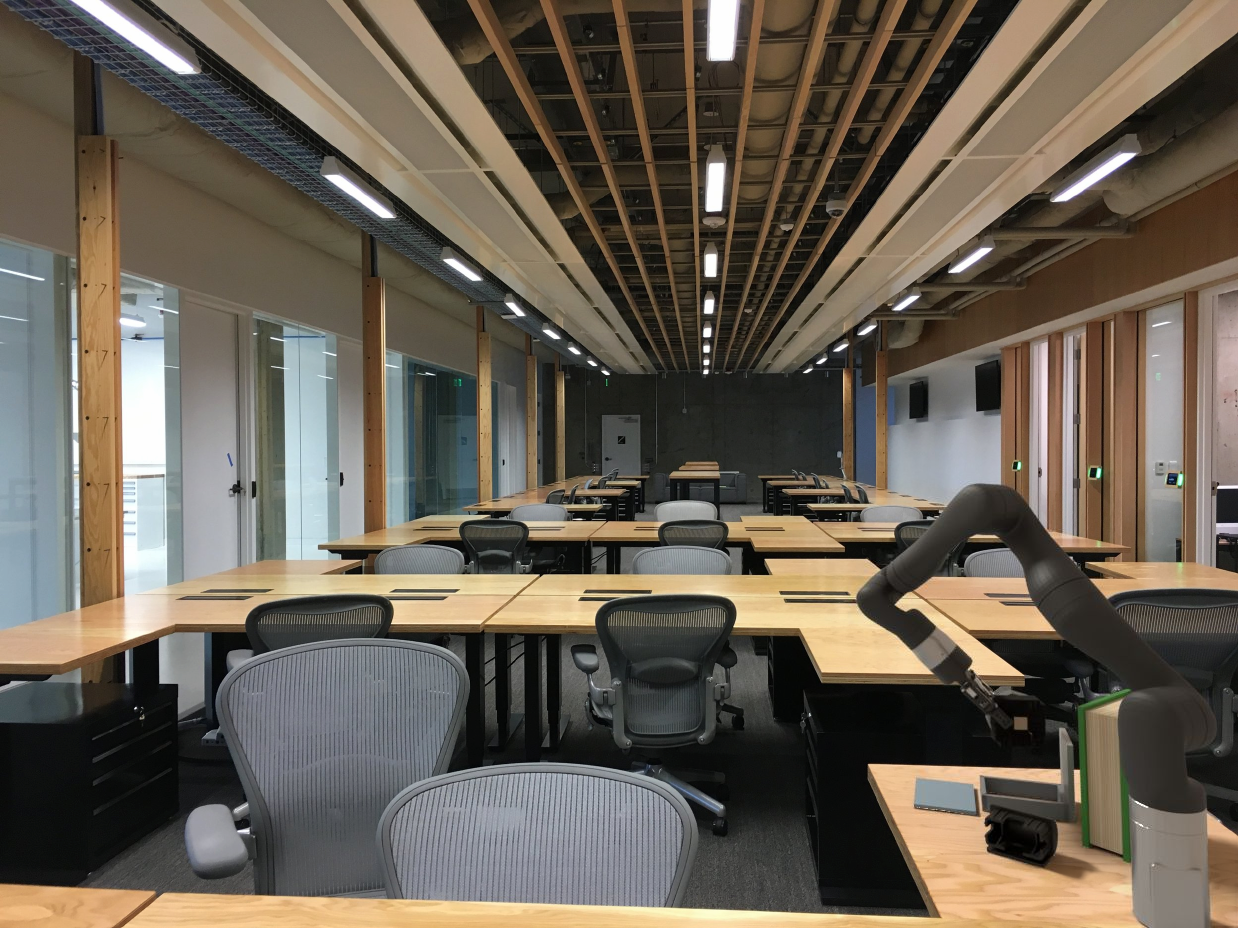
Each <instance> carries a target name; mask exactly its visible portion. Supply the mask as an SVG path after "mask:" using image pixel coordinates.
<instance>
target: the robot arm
mask: <svg viewBox="0 0 1238 928" xmlns="http://www.w3.org/2000/svg"><path fill="white" fill-rule="evenodd" d="M926 529H927V530H925V531H924V532H923V534H922V535H920V537H919V538H918V539H917V540H916V541H915V542H913V543H912V544H911V545H910V546H909V547H908V548H906V550H904V551H903V552H902V553H901V554H899V555H898V556H896V558H895V559H893V560H892V561H891V562H890V563H889V564H888V565H886V566H885V567H883V568H881V569H880V570H878V571H877V572H876V573H875V574H873V575H872V576H871V578H869V579H868V581H866V582H865V584H864V585H863V586H861V588H859V590H858V591H857V593H856V596H855V600H856V604H857V605H856V606H857V607H858V608H859V611H860V612H861V613H862V614H863V615H864V616H865V617H866V618H867V619H868V620H870V621H871V622H873V623H874V624H876V625H878V627H879V626H880V627H881V628H882V629H885V630H886V631H887V632H890V633H891V634H893V635H895V636H896V637H897V638H898V639H899V640H900V641H901V642H902V643H903V644H904V645H905V646H906V647H907V648H908V649H909V650H910V651H911V652H912V653H913V654H914V656H915V657H916V658H917V659H918V660H919V661H920V663H921V664H922V665H923V666H924V667H926V668H927V669H928V670H929V671H930V672H931V674H932V675H934V676H935V677H936V678H937V679H938V681H940V683H942V684H943V685H944V686H950V685H952V684H953V683H954V682H957V684H958V685H959V687H960V691H961V692H962V693H963V696H965V697H966V698H967V699H968V700H969V701H970V702H972V704H974V705H975V707H977V708H978V709H979V710H981V712H982V713H983V714H984V715H985V716H986V715H991V716H992V717H993V718H994V719H995V720H996V721H997V722H998V723H999V724H1000V725H1001V726H1002V727H1003V728H1004V729H1007V728H1008V727H1010V726H1011V725H1012V724H1013V720H1012V719H1011V718H1010V717H1009V716H1008V715H1007V714H1006V713H1005V712H1004V711H1003V710H1002V709H1001V708H999V706H998V704H997V703H995V702H994V701H993V700H992V699H991V694H993V695H997V694H996V693H995V692H994V690H993V688H992V687H990V686H989V685H988V684H987V683H986V682H985V681H984V680H983V679H982V678H981V676H979V675H978V673H976V672H975V670H973V669H972V668H971V666H972V665H973V658H972V657H971V656H969V655H968V653H967V652H966V651H965V650H963V648H962V647H961V646H959V645H958V644H957V643H956V641H954V640H953V638H951V637H950V636H949V635H948V634H947V633H945V632H944V631H943V630H941V629H940V628H939V627H938V626H937V625H936V624H935V623H933V622H932V621H931V620H930V618H928V617H927V616H926V615H925V614H924V613H923V612H922V611H920V610H919V609H917V608H910V609H907V610H906V611H905V610H904V609H902V608H900V607H898V606H897V605H896V604H897V603H898V602H899V601H900V600H901V599H902V598H903V597H904V596H906V594H908V593H911V592H914V591H916V590H917V589H919V588H920V587H921V586H923V585H925V583H927V582H928V581H929V580H931V579H932V578H933V577H934V576H935V575H937V574H938V572H939V571H941V569H942V567H943V566H944V564H945V563H946V560H947V557H948V555H949V554H950V552H951V551H952V550H953V549H954V548H955V547H957V546H958V545H960V544H961V543H962V542H964V541H966V540H968V539H971V538H972V537H974V536H995V537H996V538H998V539H999V540H1000V541H1001V542H1002V543H1004V545H1005V546H1007V548H1008V549H1009V551H1011V553H1012V554H1013V555H1014V556H1015V557H1016V559H1017V560H1018V562H1019V563H1020V565H1021V567H1022V571H1023V574H1024V579H1025V580H1024V581H1025V583H1026V587H1027V591H1028V594H1029V597H1030V599H1031V602H1032V603H1033V605H1035V606H1034V607H1036V609H1037V610H1038V611H1039V613H1041V615H1042V616H1043V617H1044V619H1045V621H1047V623H1048V624H1049V625H1050V626H1051V628H1052V629H1053V630H1054V631H1055V632H1056V633H1057V634H1058V635H1059V636H1060V637H1061V638H1063V639H1064V640H1065V641H1066V642H1067V643H1069V644H1070V645H1071V646H1073V647H1075V648H1076V649H1078V650H1079V651H1080V652H1082V653H1084V654H1085V655H1086V656H1088V657H1090V658H1092V659H1094V660H1095V661H1097V662H1098V663H1100V664H1101V665H1102V666H1104V667H1105V668H1107V669H1108V670H1109V671H1111V672H1112V673H1113V674H1114V675H1116V677H1118V678H1119V680H1121V682H1123V683H1124V685H1125V686H1126V687H1127V689H1130V690H1131V692H1132V693H1130V694H1128V695H1127V696H1125V697H1124V699H1123V700H1122V702H1121V704H1120V707H1119V711H1118V736H1119V747H1120V758H1121V767H1122V771H1123V774H1124V777H1125V779H1126V781H1127V783H1128V787H1129V813H1130V814H1129V817H1130V846H1131V862H1130V866H1131V867H1130V871H1131V893H1132V894H1131V895H1132V913H1133V915H1134V917H1135V919H1136V920H1137V921H1138V922H1139V923H1141V924H1142V925H1144V926H1146V927H1147V928H1212V922H1211V918H1212V917H1211V900H1210V899H1211V896H1210V891H1211V890H1210V870H1209V868H1210V867H1209V866H1210V865H1209V864H1210V863H1209V843H1208V842H1209V841H1208V839H1209V837H1208V836H1209V835H1208V808H1207V805H1208V804H1207V792H1206V789H1205V787H1204V786H1203V784H1201V783H1200V782H1199V781H1198V780H1196V779H1194V778H1192V777H1190V776H1188V770H1187V763H1186V762H1187V760H1186V753H1189V752H1192V751H1196V750H1199V749H1203V748H1205V747H1207V746H1209V745H1210V744H1212V743H1213V741H1214V740H1215V739H1216V736H1217V732H1218V724H1217V720H1216V716H1215V714H1214V712H1213V710H1212V708H1211V707H1210V704H1209V703H1208V702H1207V701H1206V699H1205V698H1204V697H1203V696H1202V695H1201V693H1199V692H1198V690H1196V689H1195V688H1194V687H1193V686H1192V685H1191V683H1189V682H1188V681H1187V680H1186V679H1185V678H1184V677H1182V676H1181V674H1180V673H1178V672H1177V671H1176V670H1175V669H1174V668H1173V667H1171V666H1170V665H1169V663H1167V662H1166V660H1164V659H1163V657H1161V656H1160V655H1159V654H1158V653H1157V652H1156V651H1155V650H1153V648H1152V647H1151V646H1150V645H1149V644H1148V643H1147V642H1146V640H1144V639H1143V638H1142V636H1141V635H1140V634H1139V633H1138V632H1137V631H1136V630H1135V628H1134V627H1133V626H1132V625H1131V624H1130V623H1129V622H1128V621H1127V620H1126V619H1125V617H1123V615H1121V614H1120V612H1119V611H1118V610H1117V609H1116V608H1115V607H1114V606H1113V604H1112V603H1111V602H1110V600H1109V599H1108V598H1107V597H1106V595H1105V594H1104V593H1103V592H1102V591H1101V590H1100V589H1099V588H1098V587H1097V586H1096V585H1095V583H1094V582H1093V581H1092V580H1091V579H1090V578H1089V576H1087V574H1085V573H1084V571H1083V570H1081V568H1080V567H1079V566H1078V565H1077V564H1076V563H1075V562H1074V560H1073V559H1072V558H1071V557H1070V555H1068V554H1067V552H1066V551H1065V550H1064V548H1062V547H1061V546H1060V545H1059V544H1058V542H1057V541H1056V540H1055V539H1054V538H1053V537H1052V536H1051V534H1050V533H1049V532H1048V531H1047V529H1046V528H1045V527H1044V525H1043V524H1042V522H1041V521H1040V520H1039V518H1038V517H1037V515H1036V514H1035V512H1034V510H1033V509H1032V508H1031V507H1030V505H1029V504H1028V502H1027V500H1026V499H1025V498H1024V497H1023V496H1022V494H1020V493H1019V492H1018V491H1017V490H1016V489H1014V488H1012V487H1011V486H1007V485H1005V484H1000V483H999V484H998V483H983V482H980V483H973V484H972V483H971V484H968V485H967V486H965V487H963V488H962V489H961V490H960V491H958V493H957V494H956V495H955V496H954V497H953V498H952V499H951V501H949V503H948V504H947V505H946V507H945V508H944V509H943V510H942V512H941V513H940V514H939V515H938V517H937V518H936V519H934V521H933V522H932V523H931V524H930V526H929V527H928V528H926ZM986 701H987V702H988V703H989V705H987V706H985V705H984V704H985V703H986Z"/></svg>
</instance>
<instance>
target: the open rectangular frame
mask: <svg viewBox="0 0 1238 928" xmlns="http://www.w3.org/2000/svg"><path fill="white" fill-rule="evenodd" d="M1058 731H1059V733H1058V734H1059V758H1060V759H1059V761H1060V783H1056V782H1055V783H1054V782H1048V781H1047V782H1045V781H1037V780H1027V779H1021V778H1020V779H1019V778H1010V777H1009V778H1008V777H1000V776H991V775H981V774H979V792H980V793H979V794H980V802H981V810H982V812H987V811H989V813H990V805H991V804H997V805H1001V806H1005V807H1009V808H1013V809H1016V810H1020V811H1024V812H1028V813H1032V814H1036V815H1040V816H1044V817H1048V818H1052V819H1054V820H1055V821H1062V822H1071V823H1076V822H1077V821H1076V819H1077V818H1076V817H1077V816H1076V797H1075V795H1076V792H1075V787H1076V786H1075V762H1074V761H1075V760H1074V758H1075V757H1074V744H1073V743H1072V739H1071V738H1070V735H1069V734H1068V732H1067V729H1066V728H1065V727H1059V730H1058ZM989 792H992V793H991V794H989ZM987 793H988V794H987ZM998 793H999V794H1000V795H996V794H998ZM1005 795H1008V796H1005ZM1014 796H1016V797H1014ZM1017 796H1018V797H1017ZM1026 797H1027V798H1026ZM1031 798H1034V799H1031ZM1041 799H1042V800H1041ZM1052 800H1053V801H1052Z"/></svg>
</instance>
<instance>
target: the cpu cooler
mask: <svg viewBox="0 0 1238 928" xmlns="http://www.w3.org/2000/svg"><path fill="white" fill-rule="evenodd" d="M991 699H992V700H993V701H994V702H995V703H997V704H998V706H999V708H1001V709H1002V710H1003V711H1004V712H1005V713H1006V714H1007V715H1008V716H1009V717H1010V718H1011V719H1012V720H1013V724H1012V725H1011V726H1010V727H1008V728H1007V729H1004V728H1003V727H1002V726H1001V725H1000V724H999V723H998V722H997V721H996V720H995V719H994V718H993V717H992V716H991V715H986V714H985V717H984V718H985V719H986V722H987V724H988V727H989V729H990V737H991V739H992V740H994V742H995V743H997V745H998V746H999V747H1000V748H1001V747H1003V748H1006V747H1007V748H1034V749H1035V748H1036V749H1037V748H1038V749H1042V744H1047V728H1046V727H1047V725H1046V724H1047V719H1046V718H1047V717H1046V716H1047V715H1046V712H1047V711H1046V707H1047V706H1046V704H1045V703H1044V702H1043V701H1041V699H1039V698H1038V697H1037V696H1036V695H1034V694H1033V695H1030V694H1026V693H1022V692H1019V691H1016V690H1013V689H1007V690H1004V691H1002V692H1000V693H997V694H996V695H993V694H991ZM983 705H984V706H985V707H986V706H987V705H989V703H988V702H987V701H986V703H983Z"/></svg>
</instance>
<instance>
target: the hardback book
mask: <svg viewBox="0 0 1238 928" xmlns="http://www.w3.org/2000/svg"><path fill="white" fill-rule="evenodd" d="M1130 693H1132V692H1131V690H1130V689H1129V688H1126V689H1122V690H1120V691H1117V692H1114V693H1111V694H1108V695H1105V696H1103V697H1100V698H1097V699H1094V700H1091V701H1089V702H1086V703H1083V704H1081V705H1078V706H1077V722H1078V723H1077V724H1078V725H1077V727H1078V728H1077V729H1078V751H1079V752H1078V755H1079V758H1078V759H1079V781H1080V782H1079V784H1080V785H1079V786H1080V810H1081V812H1080V814H1081V841H1082V842H1081V843H1082V847H1084V848H1086V849H1089V848H1091V847H1093V846H1097V847H1099V848H1102V849H1105V850H1106V851H1107V850H1108V851H1111V852H1114V853H1117V854H1119V855H1122V861H1123V862H1125V863H1128V864H1131V846H1130V817H1129V814H1130V813H1129V787H1128V783H1127V781H1126V779H1125V777H1124V774H1123V771H1122V767H1121V758H1120V747H1119V736H1118V711H1119V707H1120V704H1121V702H1122V700H1123V699H1124V697H1125V696H1127V695H1128V694H1130Z"/></svg>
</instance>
